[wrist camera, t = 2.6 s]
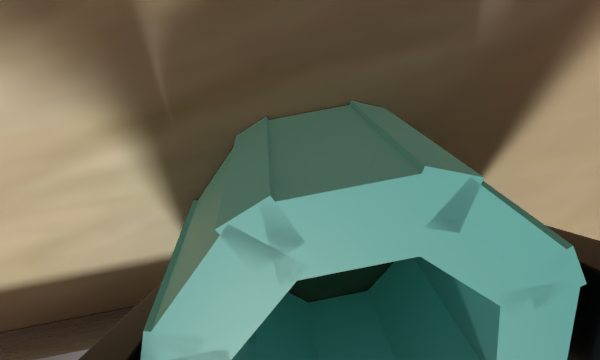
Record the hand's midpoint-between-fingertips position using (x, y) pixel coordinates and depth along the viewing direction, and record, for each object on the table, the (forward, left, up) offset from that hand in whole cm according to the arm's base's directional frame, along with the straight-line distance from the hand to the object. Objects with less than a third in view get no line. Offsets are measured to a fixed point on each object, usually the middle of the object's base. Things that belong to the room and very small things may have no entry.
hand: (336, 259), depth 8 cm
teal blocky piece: (0, 0, -1) cm, 1 cm away
